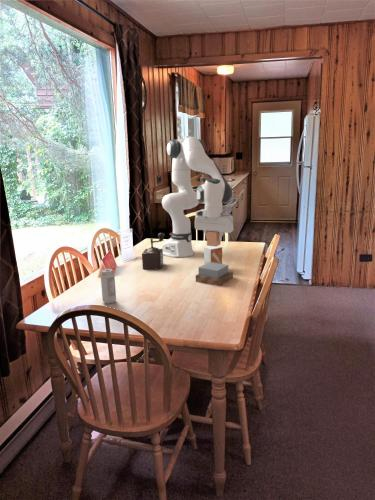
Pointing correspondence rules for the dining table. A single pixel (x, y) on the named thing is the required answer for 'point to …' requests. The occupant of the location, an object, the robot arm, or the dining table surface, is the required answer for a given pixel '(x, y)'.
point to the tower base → (215, 279)
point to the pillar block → (213, 238)
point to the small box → (213, 254)
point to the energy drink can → (108, 286)
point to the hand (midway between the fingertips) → (213, 239)
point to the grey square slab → (213, 270)
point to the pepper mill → (153, 255)
